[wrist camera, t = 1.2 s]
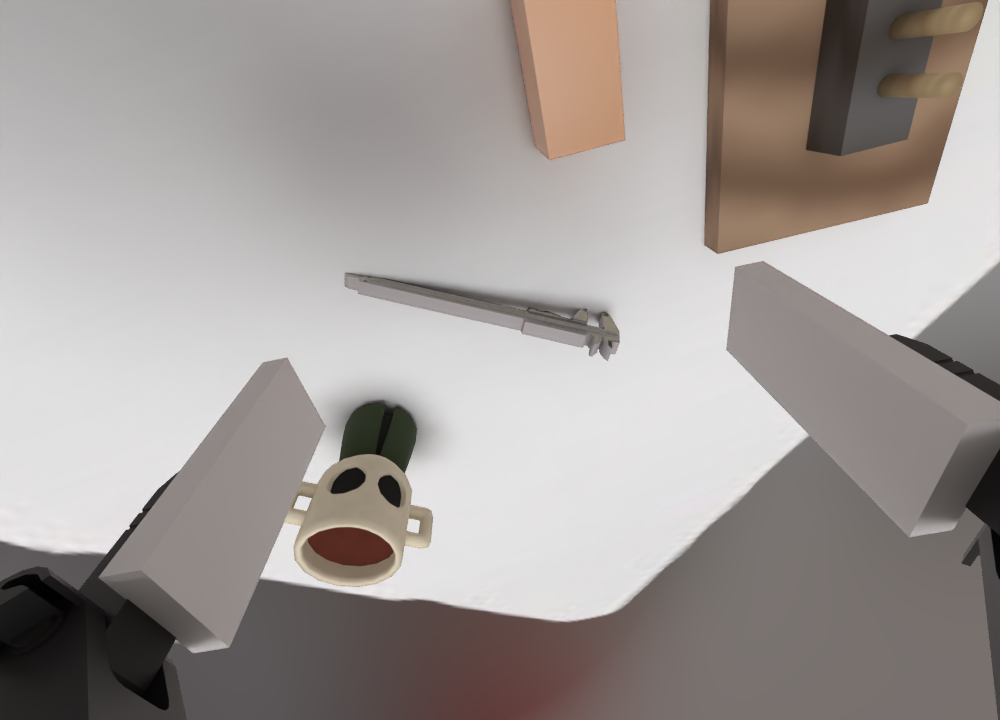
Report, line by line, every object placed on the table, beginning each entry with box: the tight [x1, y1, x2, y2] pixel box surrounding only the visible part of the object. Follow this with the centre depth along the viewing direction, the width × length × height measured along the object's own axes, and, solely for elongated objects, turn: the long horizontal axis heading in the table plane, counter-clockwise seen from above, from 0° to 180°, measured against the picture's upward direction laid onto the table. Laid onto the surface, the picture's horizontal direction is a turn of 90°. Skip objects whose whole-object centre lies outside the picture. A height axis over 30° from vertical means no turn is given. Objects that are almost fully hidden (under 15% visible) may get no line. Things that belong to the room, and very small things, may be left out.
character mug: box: [284, 404, 433, 587], centre depth 34 cm, size 11×7×13 cm, turn 68°
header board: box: [705, 0, 988, 254], centre depth 22 cm, size 22×14×8 cm, turn 13°
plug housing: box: [510, 0, 625, 160], centre depth 22 cm, size 9×4×6 cm, turn 13°
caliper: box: [345, 273, 620, 361], centre depth 31 cm, size 20×1×6 cm, turn 79°
